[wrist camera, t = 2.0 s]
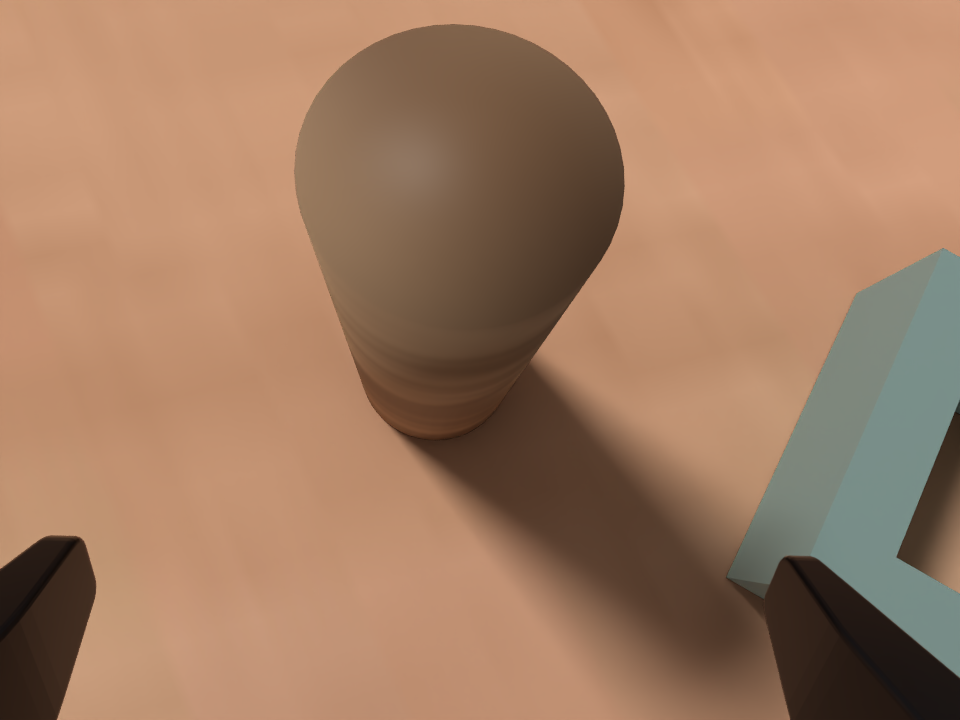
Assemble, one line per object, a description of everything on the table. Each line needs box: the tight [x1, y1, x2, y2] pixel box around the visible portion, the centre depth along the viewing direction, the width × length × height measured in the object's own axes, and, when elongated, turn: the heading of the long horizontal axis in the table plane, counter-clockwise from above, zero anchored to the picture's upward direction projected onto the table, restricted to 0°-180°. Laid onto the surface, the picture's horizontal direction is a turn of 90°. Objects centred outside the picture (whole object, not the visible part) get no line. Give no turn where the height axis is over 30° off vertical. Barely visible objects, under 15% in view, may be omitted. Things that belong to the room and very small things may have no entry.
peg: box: [294, 24, 624, 440], centre depth 16 cm, size 4×4×12 cm
